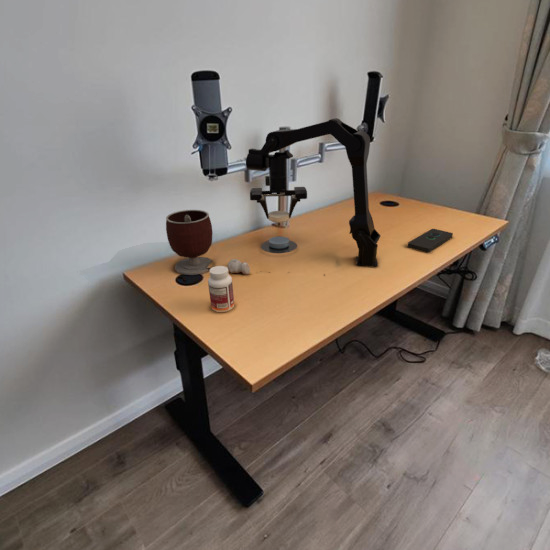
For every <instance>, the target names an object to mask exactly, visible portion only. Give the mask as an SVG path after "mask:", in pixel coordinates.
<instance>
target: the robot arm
mask: <svg viewBox="0 0 550 550" xmlns="http://www.w3.org/2000/svg"><path fill="white" fill-rule="evenodd" d="M327 135H328V136H329V135H330V136H332V137H333V138H334V139H335V140H336V141H337V142H338V143H339V144H340V145H342V146H344V148H345V153H346V156H347V159H348V162H349V164H350V167H351V176H352V190H353V203H354V206H353V207H354V215H353V216H352V217H351V218H350V219H349V221H348V225H349V232H348V233H349V235H351V238H352V240H353V241H355V243H356V246H357V249H358V252H357V255H356V256H355V259H356V266H358V267H375V268H376V267H377V268H378V266H379V265H378V259H377V253H378V247H379V246H378V242H379V240H380V238H381V234H380V233H379V232H378V230H376V228H375V224H374V220H373V217H372V214H371V212H370V205H369V204H370V203H369V187H368V167H367V166H368V165H367V164H368V158H369V155H370V154H369V153H370V148H371V147H370V146H371V138H370V135H369V134H368V133H367V132H365V131H362V130H361V131H358V130H357V129H355V128H354V127H352V126H350V125H348V124H346V123H345V122H343V121H342V120H341V119H340V118H337V117H335V118H331V119H329V120H327V121H323V122H318V123H315V124H311V125H307V126H304V127H300V128H295V129H294V128H291V129H288V128H287V129H278V130H273V131H270V132H268V133H267V135H266V137H265V141H264V144H263V145H262V147H261V149H257V148H249V149H248V153H247V155H246V159H245V166H246V169H247V170H248V171H257V172H267V170H268V172H269V173H268V175H265V176H264V178H265V180H264V181H265V187H269V190H263V187H251V189H250V191H249V201H256V203H258V204H260V206H261V208H262V209H263V212H264V214H265V218H266V219H267V220H269V219H268V214H269V210H268V203H267V197H290V200H289V201H290V202H289V211H288V213H289V219H292V218H291V217H292V216H293V213H294V209H295V207H296V206H297V204H298V203H300V202H301V200H308V190H307V188H306V187H305V186H294V187H293V189H288V160H290V159H291V158H294V155H293V153H291V152H290V150H289V149H286V148H287V147H291V146H293V145H294V144H296V143H299V142H300V143H301V142H303V141H307V140H312V139H316V138H320V137H324V136H327ZM284 149H285V150H284ZM280 150H284V152H283V151H280ZM272 153H273V154H272Z"/></svg>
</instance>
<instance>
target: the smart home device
mask: <svg viewBox="0 0 550 550" xmlns="http://www.w3.org/2000/svg"><path fill="white" fill-rule="evenodd" d="M453 235H454V234H453V232H450V231H445V230H441V229H437V228H431V229H429V230H427V231H425V232H424V233H422V234H420V235H418V236H416V237H415V238H413V239H412V240H410V241H408V242H407V248H408V249H412V250H416V251H419V252H423V253H427V254H428V253H429V254H430V253H431V252H433V251H434V250H436V249H437V248H439V247H440V246H442V245H443V244H445V243H446V242H448V241H450V240H452V238H453Z"/></svg>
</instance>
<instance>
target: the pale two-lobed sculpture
mask: <svg viewBox="0 0 550 550" xmlns="http://www.w3.org/2000/svg"><path fill="white" fill-rule="evenodd" d="M226 267H227V268H228V272H230V273H237V274H238V273H242V274H243V275H248V274H250V272H251V267H250V265H249V263H248V262H247V261H244V262H241V261H240V260H239V259H237V258H233V259H230V260H229V261H228V263H227V266H226Z"/></svg>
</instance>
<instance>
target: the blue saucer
mask: <svg viewBox="0 0 550 550" xmlns="http://www.w3.org/2000/svg"><path fill="white" fill-rule="evenodd" d="M289 240H290V239H289V237H286V236H280V235H279V236H272V237H270V238H269V239H268V241H269V246H270V247H272V248H275V249H282V248H285V247H287V246H289Z"/></svg>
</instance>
